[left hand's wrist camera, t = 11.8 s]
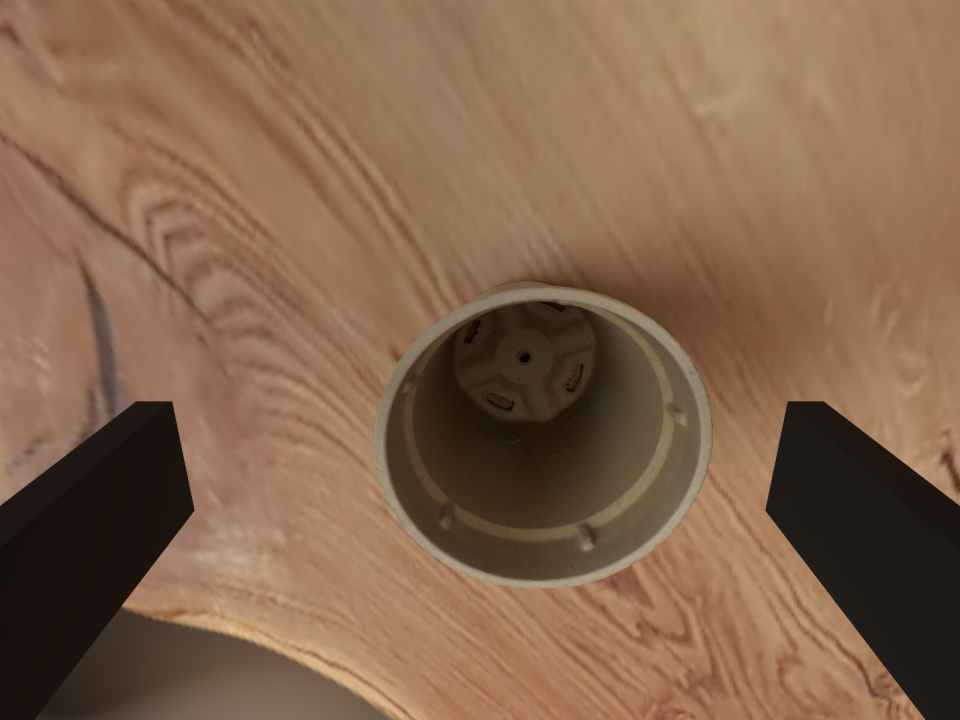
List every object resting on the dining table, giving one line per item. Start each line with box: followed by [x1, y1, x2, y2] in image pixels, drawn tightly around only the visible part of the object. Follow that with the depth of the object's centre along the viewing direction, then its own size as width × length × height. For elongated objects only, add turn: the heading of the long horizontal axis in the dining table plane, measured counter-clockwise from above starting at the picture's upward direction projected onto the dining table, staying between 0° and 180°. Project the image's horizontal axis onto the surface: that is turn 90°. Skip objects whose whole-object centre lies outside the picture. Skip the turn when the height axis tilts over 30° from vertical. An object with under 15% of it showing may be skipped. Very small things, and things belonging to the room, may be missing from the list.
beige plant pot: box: [373, 281, 713, 589], centre depth 20 cm, size 9×9×9 cm
